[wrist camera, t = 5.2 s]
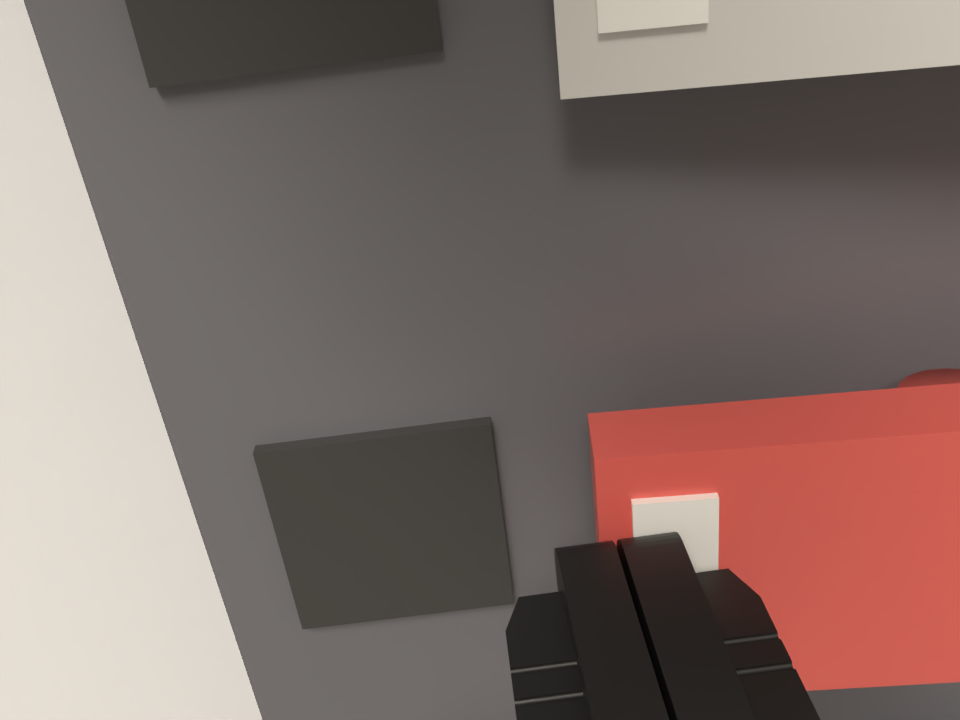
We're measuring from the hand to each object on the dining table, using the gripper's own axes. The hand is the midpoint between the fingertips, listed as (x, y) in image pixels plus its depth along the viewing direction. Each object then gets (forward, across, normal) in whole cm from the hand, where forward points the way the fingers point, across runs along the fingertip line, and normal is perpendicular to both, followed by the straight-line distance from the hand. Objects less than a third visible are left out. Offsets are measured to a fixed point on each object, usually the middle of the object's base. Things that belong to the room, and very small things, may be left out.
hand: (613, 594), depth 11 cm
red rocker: (+1, -4, 0) cm, 5 cm away
